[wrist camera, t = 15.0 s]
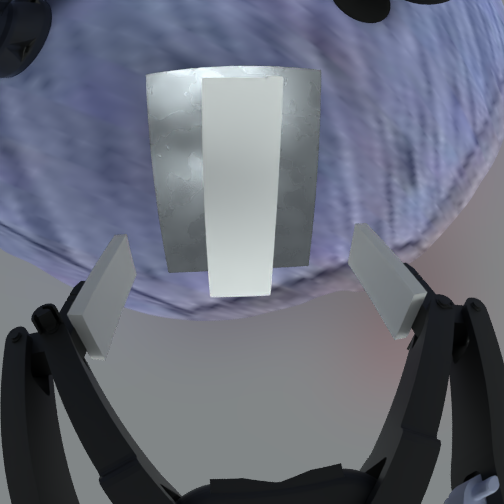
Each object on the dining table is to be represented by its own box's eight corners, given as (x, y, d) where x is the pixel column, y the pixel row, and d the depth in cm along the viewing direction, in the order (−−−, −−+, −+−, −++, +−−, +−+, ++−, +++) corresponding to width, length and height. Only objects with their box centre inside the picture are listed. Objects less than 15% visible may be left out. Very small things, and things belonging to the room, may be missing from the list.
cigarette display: (210, 84, 24) (202, 75, 16) (265, 84, 25) (283, 76, 17) (213, 256, 34) (211, 307, 26) (259, 255, 35) (269, 305, 27)
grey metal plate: (179, 236, 44) (168, 272, 35) (165, 80, 31) (146, 74, 23) (292, 231, 45) (308, 265, 36) (298, 76, 33) (321, 70, 24)
